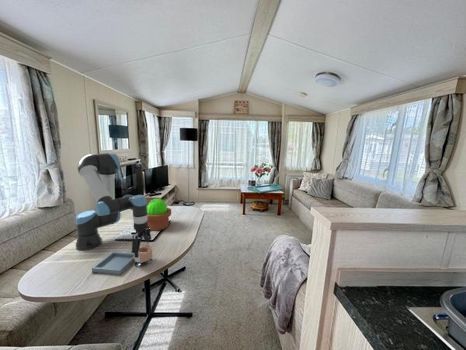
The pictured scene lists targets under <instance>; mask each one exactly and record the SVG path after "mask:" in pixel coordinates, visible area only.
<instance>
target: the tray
mask: <svg viewBox="0 0 466 350" xmlns="http://www.w3.org/2000/svg"><path fill="white" fill-rule="evenodd" d="M133 263H135V260H134V253H132V252H122V251H121V252H119V251H112V252H110V253H109V254H108V255H107V256H106V257H104V258H103V259H101V260H100V261H99V262H98V263H96V264H94V265H93V266H92V267H91V273H92V274H107V275H117V276H118V275H119V276H121V275H122V274H123V273H124V272H125V271H127V269H128V268H129V267H130V266H131V265H132V264H133Z"/></svg>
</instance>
